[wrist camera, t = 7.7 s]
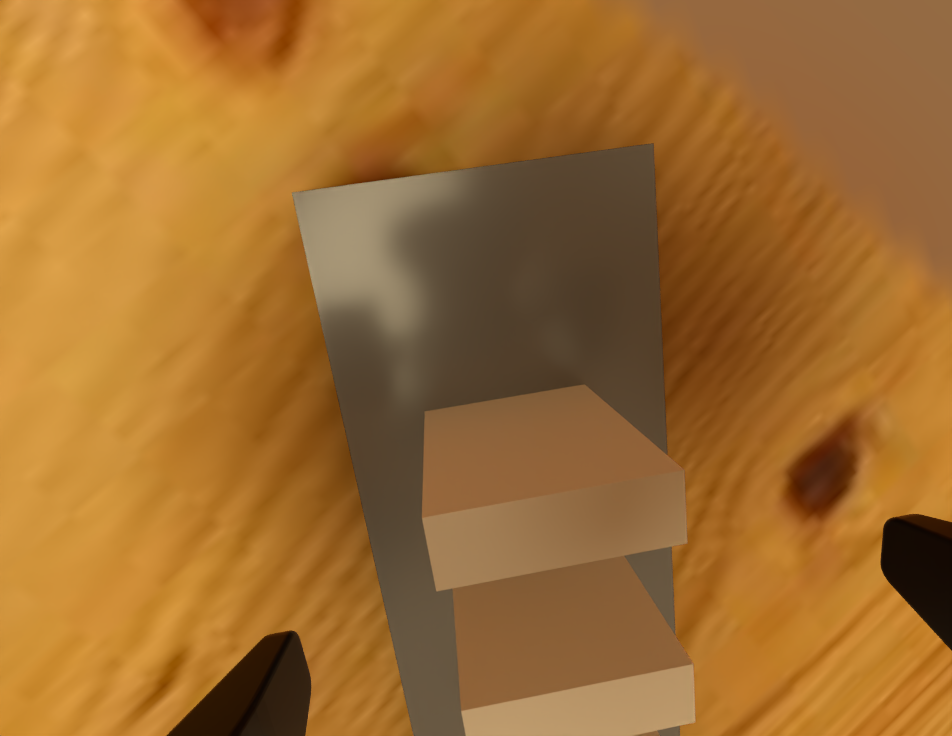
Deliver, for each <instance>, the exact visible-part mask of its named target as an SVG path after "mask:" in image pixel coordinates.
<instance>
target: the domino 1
mask: <svg viewBox="0 0 952 736" xmlns="http://www.w3.org/2000/svg"><path fill="white" fill-rule="evenodd" d="M422 521H423V526H424V531H425V536H426V541H427V547H428V552H429V557H430V562H431V567H432V572H433V577H434V582H435V587H436V591H442V590H447V589H452V588H457V587H463V586H468V585H473V584H478V583H483V582H489V581H494V580H499V579H504V578H510V577H515V576H520V575H525V574H530V573H536V572H541V571H546V570H551V569H557V568H562V567H567V566H572V565H577V564H583V563H588V562H593V561H598V560H604V559H609V558H614V557H619V556H624V555H630V554H635V553H640V552H645V551H651V550H656V549H661V548H666V547H671V546H677V545H682V544H687V521H686V496H685V471H684V469H683V468H682V467H680V466H679V465H678V464H677V463H676V462H675V461H673V460H672V459H671V458H670V457H669V456H668V455H666V454H665V453H664V452H663V451H662V450H661V449H659V448H658V447H657V446H656V445H655V444H654V443H652V442H651V441H650V440H649V439H648V438H647V437H645V436H644V435H643V434H642V433H641V432H640V431H638V430H637V429H636V428H635V427H634V426H633V425H631V424H630V423H629V422H628V421H627V420H626V419H624V418H623V417H622V416H621V415H620V414H619V413H617V412H616V411H615V410H614V409H613V408H612V407H610V406H609V405H608V404H607V403H606V402H605V401H603V400H602V399H601V398H600V397H599V396H598V395H596V394H595V393H594V392H593V391H592V390H591V389H589V388H588V387H587V386H586V385H585V384H584V385H578V386H572V387H566V388H560V389H554V390H548V391H542V392H536V393H531V394H525V395H519V396H513V397H507V398H501V399H495V400H489V401H483V402H477V403H472V404H466V405H460V406H454V407H448V408H442V409H436V410H430V411H425V419H424V457H423V495H422Z"/></svg>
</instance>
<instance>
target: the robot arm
mask: <svg viewBox="0 0 952 736" xmlns="http://www.w3.org/2000/svg"><path fill="white" fill-rule="evenodd" d="M881 569H882V571H883V574H884V576H885V577H886V579H887V580H888V582H889V583H890V584H891V585H892V586H893V587H894V588H895V589H896V591H897V592H898V593H899V594H900V595H901V596H902V597H903V598H904V599H905V600H906V601H907V602H908V604H909V605H910V606H911V607H912V608H913V609H914V610H915V611H916V612H917V613H918V614H919V616H920V617H921V618H922V619H923V620H924V621H925V622H926V623H927V624H928V625H929V626H930V628H931V629H932V630H933V631H934V632H935V633H936V634H937V635H938V636H939V637H940V638H941V639H942V641H943V642H944V643H945V644H946V645H947V646H948V647H949V648H950V649H951V650H952V522H948V521H944V520H940V519H936V518H932V517H928V516H924V515H920V514H909V515H904V516H899V517H893V518H890V519H889V520H887V521H886V523H885V524H884V528H883V539H882V550H881ZM310 696H311V678H310V673H309V669H308V666H307V662H306V659H305V655H304V652H303V648H302V645H301V641H300V638H299V636H298V634H297V633H296V632H295V631H285V632H280V633H274V634H270V635H267V636H265V637H264V638H263V639H262V640H261V641H260V642H259V643H258V644H257V645H256V646H255V647H254V648H253V649H252V650H251V651H250V652H249V653H248V654H247V655H246V656H245V657H244V658H243V659H242V660H241V661H240V662H239V663H238V664H237V665H236V666H235V667H234V668H233V669H232V670H231V671H230V672H229V673H228V674H227V675H226V676H225V677H224V678H223V679H222V680H221V681H220V682H219V683H218V684H217V685H216V686H215V687H214V688H213V689H212V690H211V691H210V692H209V693H208V694H207V695H206V696H205V697H204V698H203V699H202V700H201V701H200V702H199V703H198V704H197V705H196V706H195V707H194V708H193V709H192V710H191V711H190V712H189V713H188V714H187V715H186V716H185V717H184V718H183V719H182V720H181V721H180V722H179V723H178V724H177V725H176V726H175V727H174V728H173V730H172V731H171V732H170V733H169V734H168V735H167V736H305V733H306V726H307V719H308V711H309V704H310Z"/></svg>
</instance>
